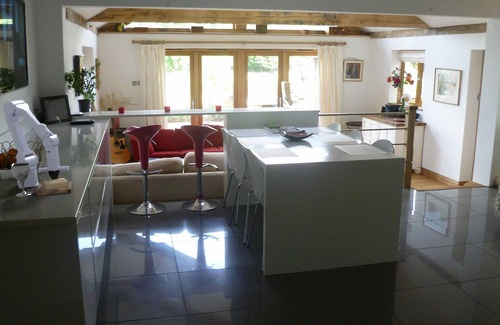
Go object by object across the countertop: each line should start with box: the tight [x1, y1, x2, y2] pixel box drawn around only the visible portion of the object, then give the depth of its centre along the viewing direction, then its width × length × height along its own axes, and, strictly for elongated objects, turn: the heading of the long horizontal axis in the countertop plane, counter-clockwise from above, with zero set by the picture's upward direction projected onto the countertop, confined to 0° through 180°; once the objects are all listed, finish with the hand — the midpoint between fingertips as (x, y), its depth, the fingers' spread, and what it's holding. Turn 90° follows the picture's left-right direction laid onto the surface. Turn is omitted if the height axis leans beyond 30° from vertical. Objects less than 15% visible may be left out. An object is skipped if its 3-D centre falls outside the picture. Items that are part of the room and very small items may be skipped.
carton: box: [42, 177, 69, 190], centre depth 245 cm, size 10×7×5 cm
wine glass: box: [11, 162, 33, 198], centre depth 238 cm, size 8×8×15 cm
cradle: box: [35, 180, 73, 196], centre depth 246 cm, size 16×14×2 cm
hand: (55, 184), depth 251 cm, fingers closed
